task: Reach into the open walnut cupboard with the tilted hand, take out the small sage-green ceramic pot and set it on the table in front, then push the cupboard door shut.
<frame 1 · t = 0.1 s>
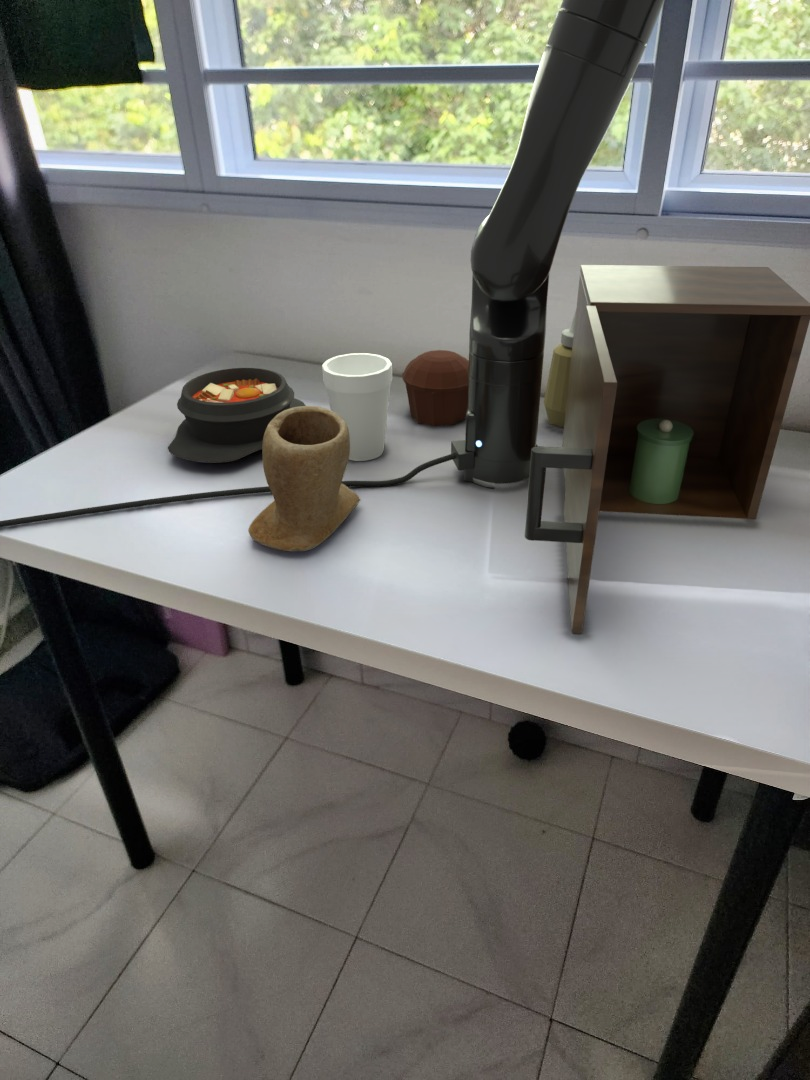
casserole: (242, 438, 113), on the table
stone cup: (314, 527, 91), on the table
pot: (653, 492, 95), point 1 cm above the table, touching cupboard
muffin: (439, 416, 119), on the table
foam cup: (361, 452, 109), on the table
cupboard door: (557, 463, 76), point 13 cm above the table, hinge at 90.0°
cupboard: (649, 487, 98), on the table
squeeze bottle: (568, 426, 115), on the table
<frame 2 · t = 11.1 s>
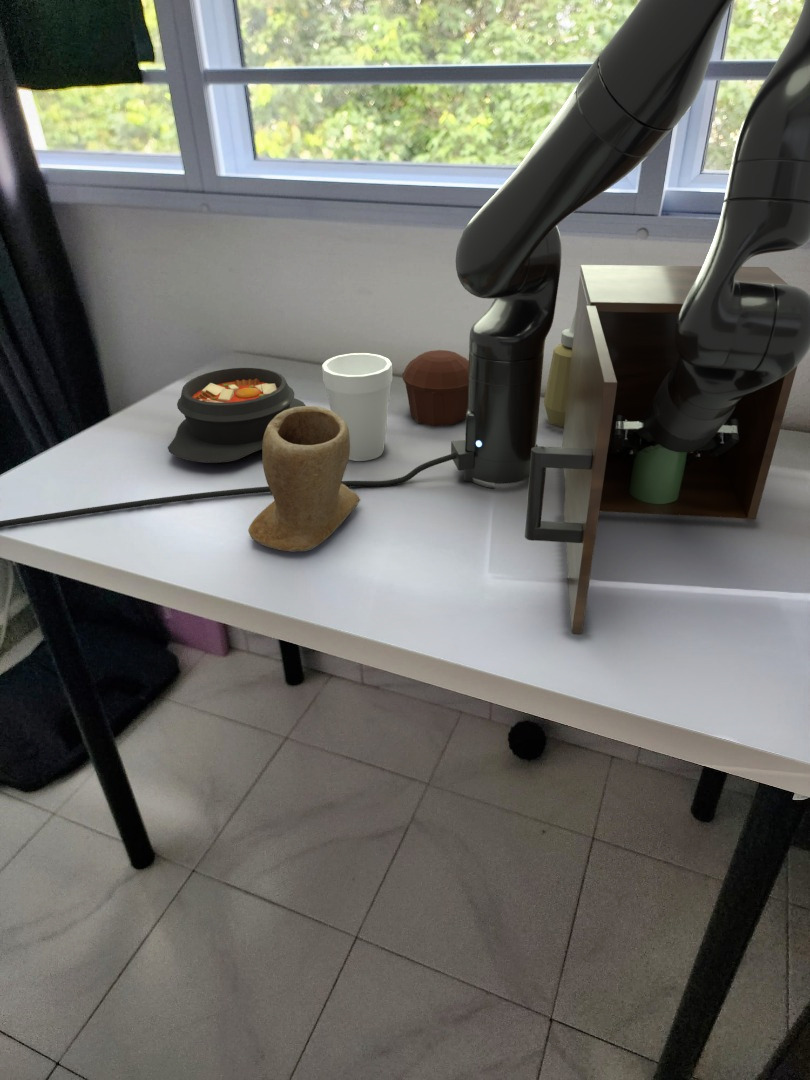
hand: (656, 456, 94), 5 cm above the table, tool tilted 45°, fingers closed on pot, 6 cm apart
pot: (653, 491, 95), point 1 cm above the table, touching cupboard, gripper
everything else where it was.
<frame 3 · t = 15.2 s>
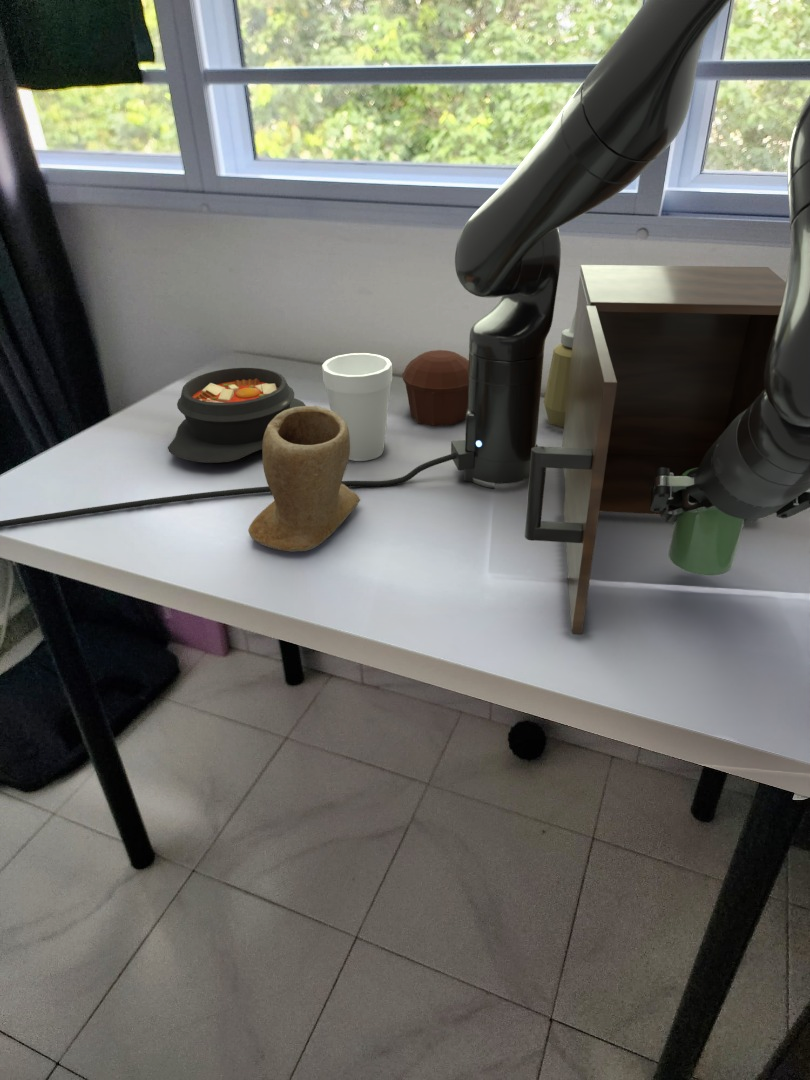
hand: (704, 514, 75), 9 cm above the table, tool tilted 45°, fingers closed on pot, 6 cm apart
pot: (700, 557, 75), point 5 cm above the table, touching gripper
everything else where it was.
when the fingers open (4 cm above the table, at t = 19.3 s): pot stays where it is, on the table.
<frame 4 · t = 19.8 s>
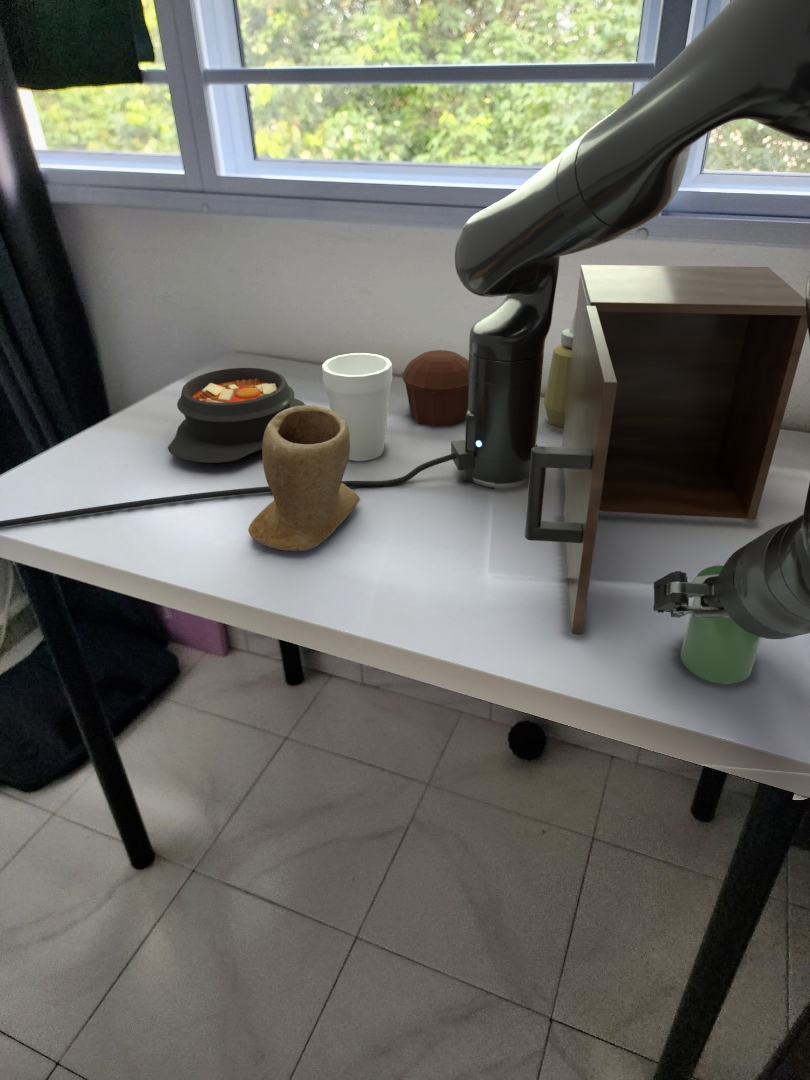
hand: (722, 609, 68), 5 cm above the table, tool tilted 45°, fingers open, 8 cm apart
pot: (715, 661, 70), on the table
everything else where it was.
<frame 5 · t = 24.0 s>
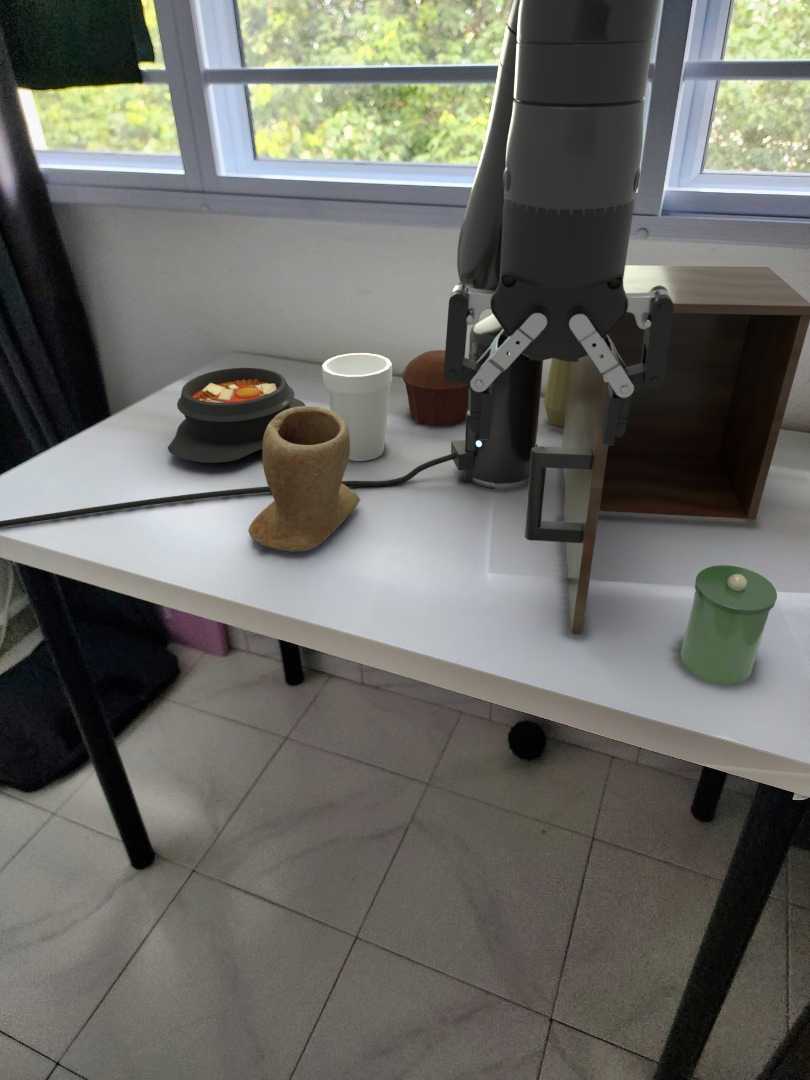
hand: (544, 437, 53), 25 cm above the table, tool pointing down, fingers open, 8 cm apart
nothing on the table moved.
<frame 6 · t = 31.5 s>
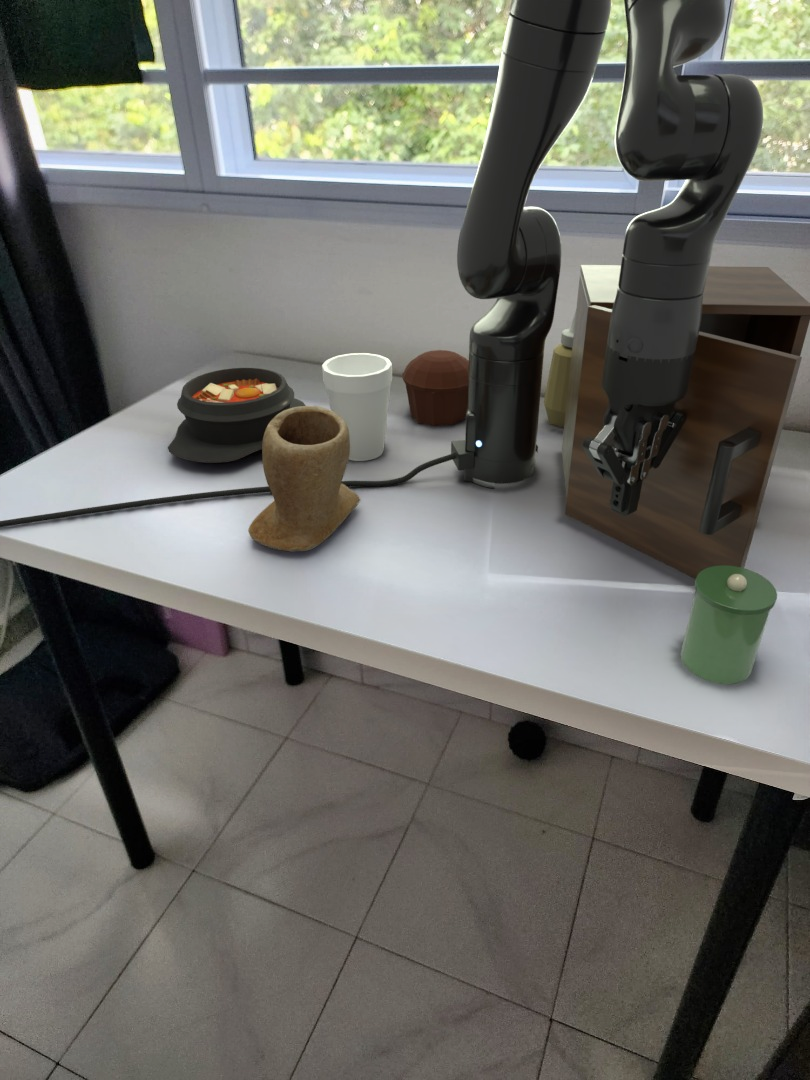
hand: (622, 510, 75), 9 cm above the table, tool pointing down, fingers closed
cupboard door: (646, 460, 76), point 13 cm above the table, hinge at 42.8°, touching hand
everything else where it was.
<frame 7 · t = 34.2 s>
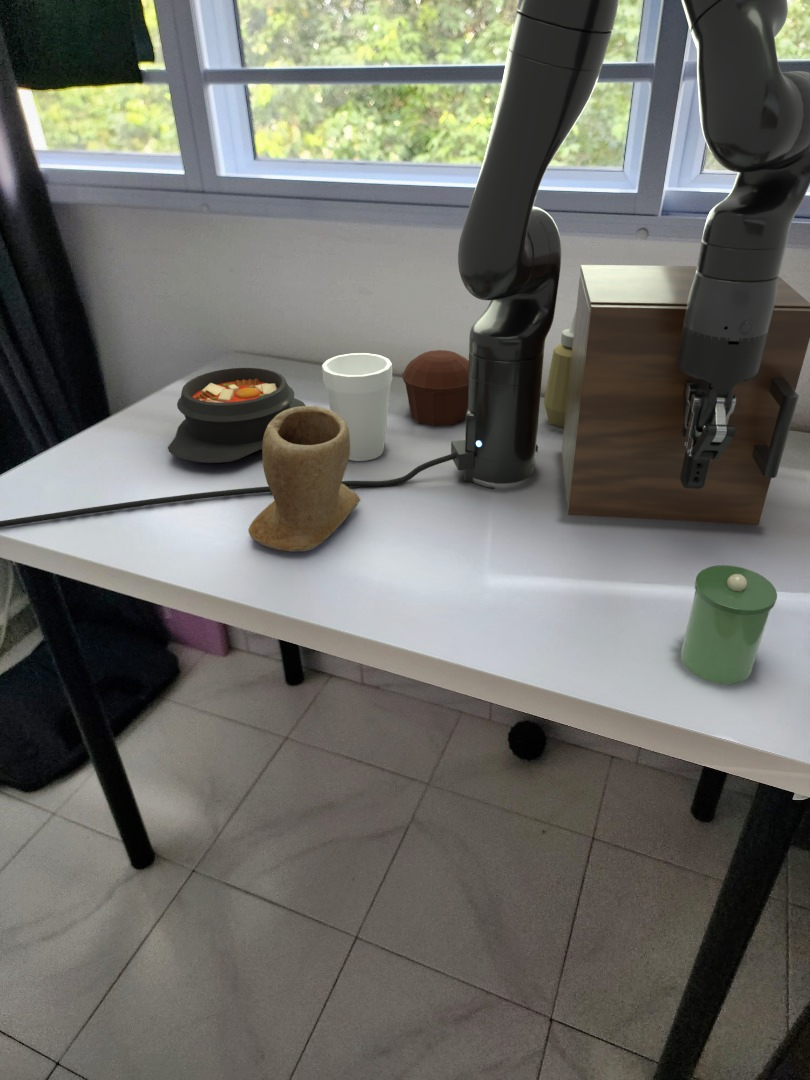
hand: (691, 485, 79), 9 cm above the table, tool pointing down, fingers closed
cupboard door: (683, 434, 81), point 13 cm above the table, hinge at 0.1°, touching hand
everything else where it was.
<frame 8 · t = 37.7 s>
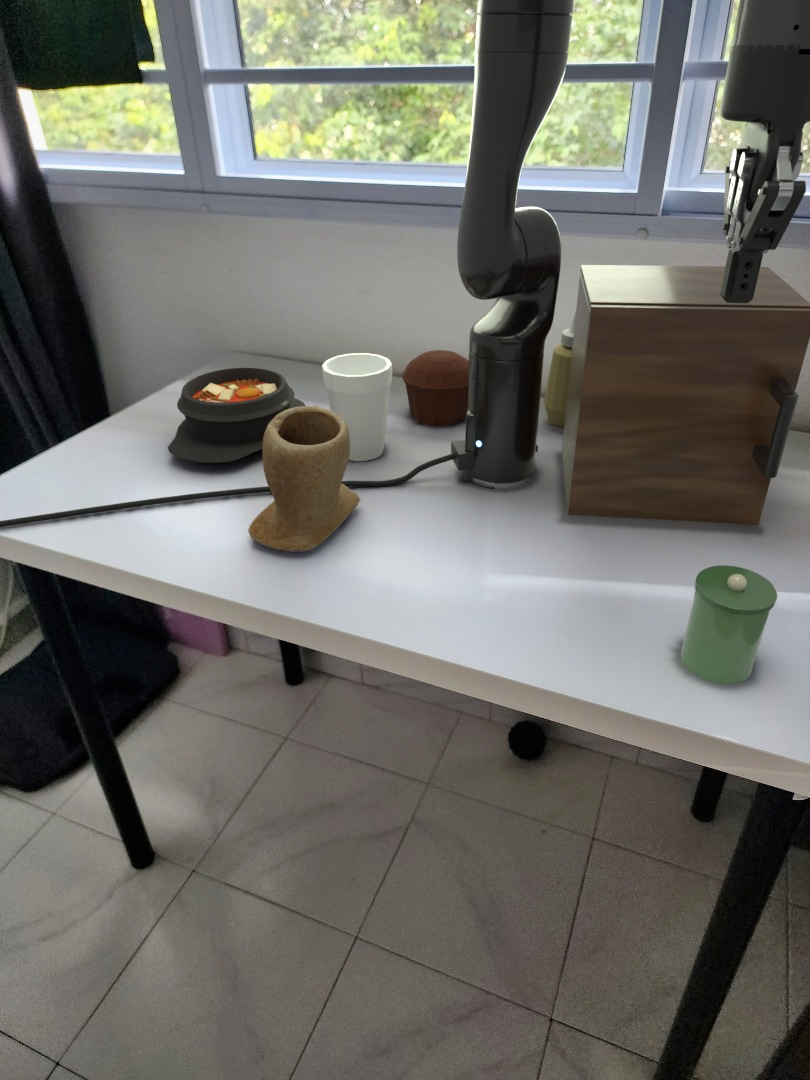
hand: (735, 300, 60), 31 cm above the table, tool pointing down, fingers closed
cupboard door: (683, 434, 81), point 13 cm above the table, hinge at 0.0°
everything else where it was.
at the end: pot inside the target area (0.1 cm from its centre), on the table; pot tilted 0°; cupboard door at +0° (first picture: +90°) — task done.
